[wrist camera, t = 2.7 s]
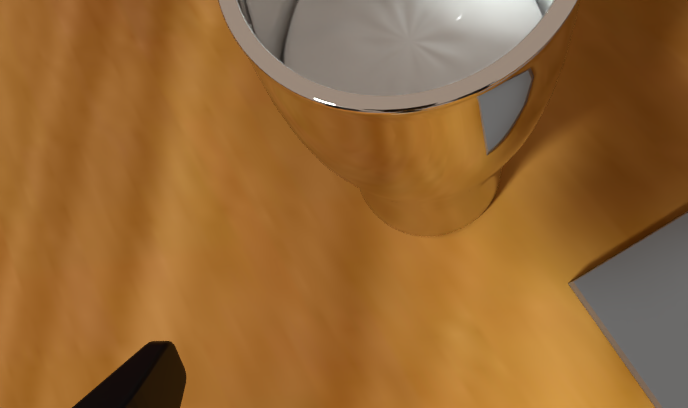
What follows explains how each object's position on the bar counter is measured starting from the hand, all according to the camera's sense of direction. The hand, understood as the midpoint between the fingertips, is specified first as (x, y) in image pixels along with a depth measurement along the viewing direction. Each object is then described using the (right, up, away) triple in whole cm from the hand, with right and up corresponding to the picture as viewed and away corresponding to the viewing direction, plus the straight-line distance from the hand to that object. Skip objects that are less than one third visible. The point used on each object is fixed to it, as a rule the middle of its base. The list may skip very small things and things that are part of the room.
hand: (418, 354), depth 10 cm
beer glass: (+2, +4, +14) cm, 15 cm away
